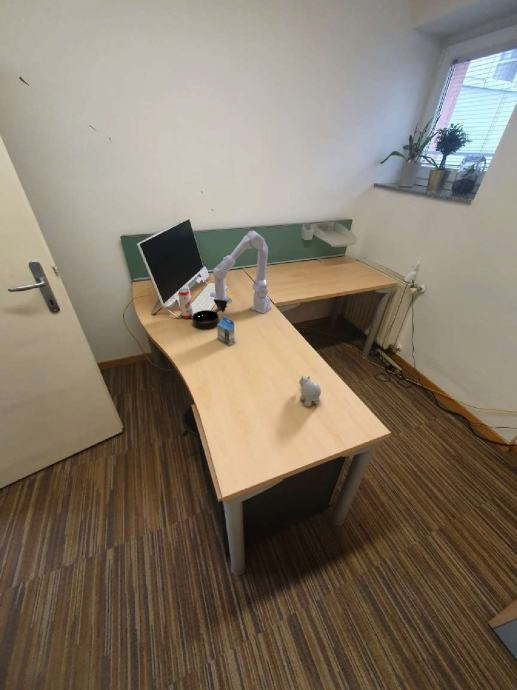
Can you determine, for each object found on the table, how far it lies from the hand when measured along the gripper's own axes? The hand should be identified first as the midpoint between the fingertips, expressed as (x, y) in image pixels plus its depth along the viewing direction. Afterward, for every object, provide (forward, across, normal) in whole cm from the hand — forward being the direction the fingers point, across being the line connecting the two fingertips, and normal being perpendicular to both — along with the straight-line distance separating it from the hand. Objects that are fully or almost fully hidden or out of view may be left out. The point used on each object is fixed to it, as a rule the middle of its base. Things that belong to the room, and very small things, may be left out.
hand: (221, 310), depth 158 cm
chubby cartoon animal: (+2, +70, -30) cm, 76 cm away
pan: (+2, 0, -8) cm, 8 cm away
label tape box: (+2, +20, -20) cm, 28 cm away
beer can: (+2, -13, -14) cm, 20 cm away
